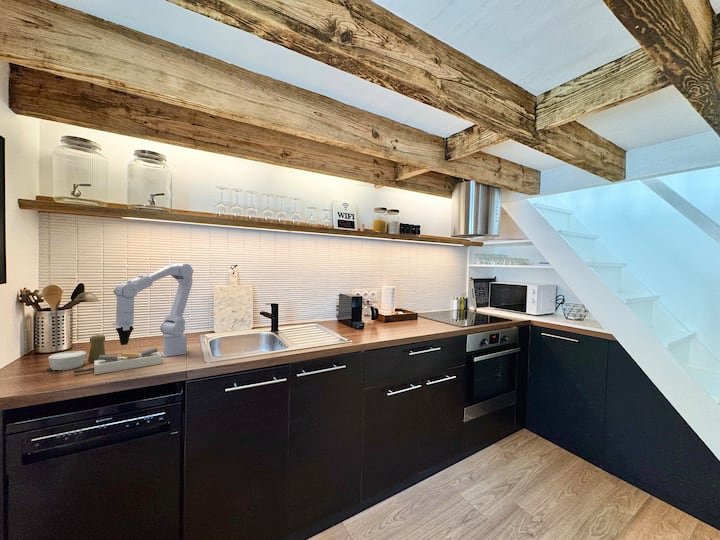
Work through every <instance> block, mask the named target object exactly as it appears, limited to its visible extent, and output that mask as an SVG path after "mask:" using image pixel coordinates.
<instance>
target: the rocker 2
mask: <svg viewBox="0 0 720 540" xmlns="http://www.w3.org/2000/svg"><path fill="white" fill-rule="evenodd" d="M156 352H159V351H158V348H157V347H154V348H150V349H147V350H143V351H141V352H140V354H141V355H142V357H143V356H146V355H149V354H152V353H156Z"/></svg>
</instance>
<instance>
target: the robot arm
mask: <svg viewBox="0 0 720 540" xmlns="http://www.w3.org/2000/svg"><path fill="white" fill-rule="evenodd" d="M193 274H194V269H193V267H192V266H191V265H190V264H189V263H175V262H172V263H170V264H167V265H166V266H164V267H162V268H160V269H158V270H157V271H155V272H152V273H151V274H149V275H147V274H139V275H137V277H136V278H133V279H128V280H127V281H126V283H125V282H123V283H119V284H117V285H116V286H115V288H114V289H113V290H112V291H113V294H114V296H115V297H116V312H115V313H116V314H115V322H112V325H111V326H116V328H115V330H116V332H117V334H118V337H119V343H120V345H121V346H126V345H128V343H129V340H130V337H131V334H132V332H133V331H134V326H133V325H134V324H135V321H134V320H135V319H134V317H135V316H134V315H135V314H134V313H135V297H136V296H137V295H138V293H139V292H141V291H143V290H145V289H148V288H150V287H151V286H153V283H154V282H156V281H158V280H162V279H163V278H166V277H169V276H171V277H172V278H173V279H175V280H176V282H178V286H177V290H176V293H175V296H174V300H173V302H172V305H171V309H170V312H169V314H168V315H167V316H166V317H165V318H164V320H163V322H162V324H161V325H160V328H159V330H160V332H161V333H162V336H163V340H162V341H163V346H162V351H160V353H161V355H162V358H167V357H174V356H179V355H187V342H188V341H187V339H188V338H187V335H186V334H185V330H186V326H185V325H186V319H185V318H184V317H183V316H184V313H185V309H186V305H187V304H188V303H187V302H188V300H189V296H190V292H191V288H192V285H193Z"/></svg>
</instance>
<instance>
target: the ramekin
mask: <svg viewBox="0 0 720 540" xmlns="http://www.w3.org/2000/svg"><path fill="white" fill-rule="evenodd" d="M87 354H88V353H87V352H86V351H85V350H71V351H64V352H58V353H54V354H50V355H49V356H48V357H47V358H48V359H47V360H48V362H49V367H50V370H52V371H55V370H59V371H60V370H62V371H69V369H70V370H74V369H77V367H78V368H79V367H80V368H81V367H82V366H83V365H84V364H85V361H86V356H87ZM59 371H58V372H59ZM60 372H61V371H60Z"/></svg>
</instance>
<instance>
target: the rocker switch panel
mask: <svg viewBox="0 0 720 540" xmlns="http://www.w3.org/2000/svg"><path fill="white" fill-rule="evenodd" d="M162 362H163V355H162V354H161V351H158V352H156V353H152V354H149V355H146V356H143V357H142V355H141V353H139V356H138V357H122V356H119V357H118V358H117V360H96V361H94V362H93V363H94V364H93V367H89V368H88V367H87V368H83V369H76V370H74V369H73V374H78V373H85V372H92V371H93V374H94V375H99V374H104V373H106V374H107V373H111V372H118V371H124V370H129V369H130V370H131V369H136V368H141V367H148V365H149V366H154V365H159V364H160V365H162Z"/></svg>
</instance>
